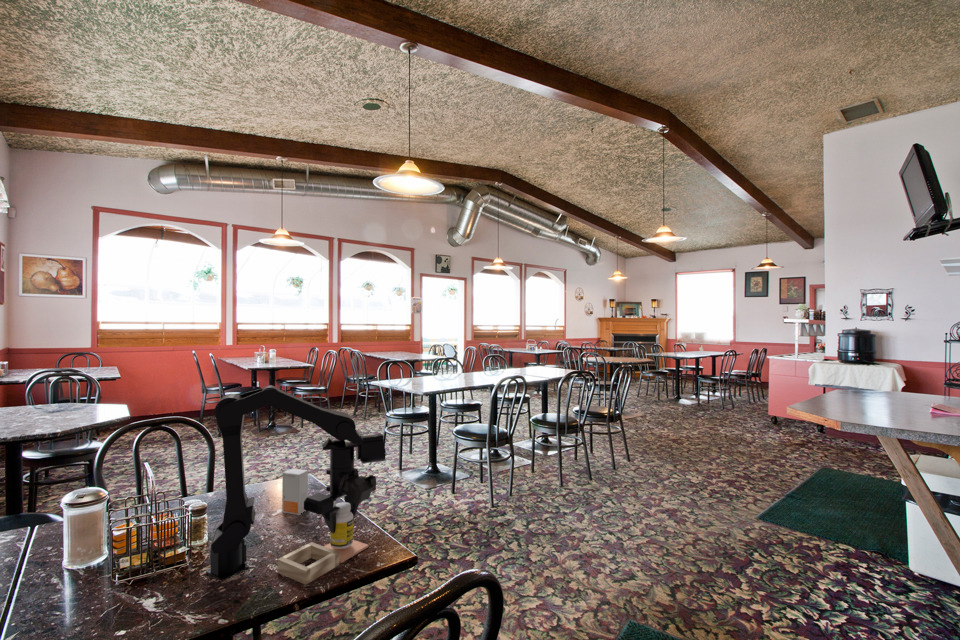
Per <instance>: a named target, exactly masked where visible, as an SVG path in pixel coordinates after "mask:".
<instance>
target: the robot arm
mask: <svg viewBox="0 0 960 640" xmlns="http://www.w3.org/2000/svg"><path fill="white" fill-rule="evenodd" d="M267 406H272V407H274V408H277V409H279V410H281V411H283V412H286V413H288V414H290V415H292V416H295V417H298V418H299V419H302V420H305V421H307V422H310V423H311V424H314V425H316V426H318V428H320V429H321V430H323V431H324V432H325V433H327V434H329V435H330V436H331V437H333V438H334V439H335V440H333V439H332V438H331V437H327V439H326V440H325V441H324V442H323V443H322V444H321V446H322V450H323V451H329V452H330V453H329V456H330V457H329V468H328V469H326V471H325V473H326V475H329V485H328V486H327V485H326V487H325V488H326V489H325V490H326V491H327V492H329V494H323V493H321V492H317V493H314V494H312V495H308V497H307V498H306V499H305V500H304V510H306V511H305V512H309V513H314V514H317V515H321V516H322V517H323V518H322V519H323V520H324V521H325V523H326V525H327V527H328V530H329V531H330V532H331V533H335V529H336V513H337V511H338V510H339V509H340V507H337V506H336V504H337V501H338V500H340V499H342V498H343V500H344V502H348V503H350V504H351V510H350V512H352V514H353V521H354V520H355V517H356V514H357V511H358V510H359V509H358V508H359V506H360V504H361V503H362V502H364V501H366V500H367V501H368V500H370V498H371V495H372V492H375V491H377V478H376V477H377V476H374V475H373V474H371V475H368V476H365V475H359V470H358V468H357V467H355V458H356V460H357V461H358V460H360V463H361V464H369V463H379V462H384V461H385V460H386V455H387V453H386V448H385V441H384V434H382V433H376V434H369V435H361V433H360V431H357V429H356V427H357V426H356V423H355V421H354V419H353V418H352V416H351V415H350V414H349V413H347V412H344V411H339V410H335V409H331V408H330V409H328V408H324V407H321V406H318V405H316V404H314V403H311V402H309V401H306V400H305V399H302V398H300V397H297V396H295V395H293V394H290V393H288V392H286V391H284V390H282V389H279V388H278V387H277V386H275V385H266V386H264V387H261V388H259V389H255V390H250V391H248V392H247V391H246V392H244V393H241V394H238V393H228V394H226V395H224V396H222V398H221V399H219V401H218V402H217V403H216V405H215V407H214V417H215V421H216V424H217V428H218V430H219V433H220V435H221V438H222V447H223V462H224V463H223V465H224V481H225V497H226V500H225V506H224V507H225V508H224V514H223V518H222V519H223V520H222V522H221V523H220V524H219V525H218V526H217V527H216V528H215V530H214V533H213V537H212V540H211V543H210V548H209V549H210V550H209V551H210V552H209V553H210V554H209V555H210V556H209V557H210V560H209V563H210V565H209V567H210V568H208V569H207V570H206V572H205V573H206V574H208V575H209V576H212V577H214V578H216V579H218V580H220V581H225V580H226V579H230V578H231V577H233V576H236V575H237V574H240V573H241V572H243V571H245V570H248V569H249V568H250V565H249V564H248V563H246V562H247V544H246V543H245V542H246V540H245V538H246V537H247V536H248V535H249V534H250V532H251V529H252V528H251V527H252V525H254V524H255V519H256V510H255V509H254V503H255V497H254V496H252V497H248V496H247V493H246V484H245V483H246V482H245V466H244V450H243V447H244V446H243V427H244V420H245V415H247V414H250V413H252V412H254V411H255V412H256V411H257V410H259V409H262V408H264V407H267ZM346 441H347V442H346ZM330 532H329V533H330Z"/></svg>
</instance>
